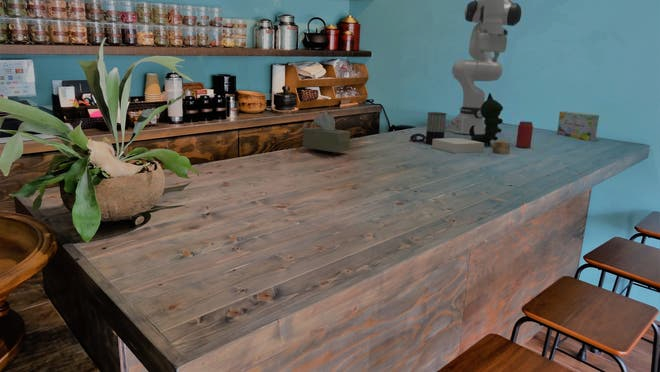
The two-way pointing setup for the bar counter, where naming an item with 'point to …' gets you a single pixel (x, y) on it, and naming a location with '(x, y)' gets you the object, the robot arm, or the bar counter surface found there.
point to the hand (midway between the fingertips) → (488, 61)
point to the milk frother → (433, 128)
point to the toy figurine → (489, 121)
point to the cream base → (458, 145)
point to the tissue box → (326, 135)
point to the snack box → (578, 125)
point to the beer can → (524, 134)
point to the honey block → (501, 147)
